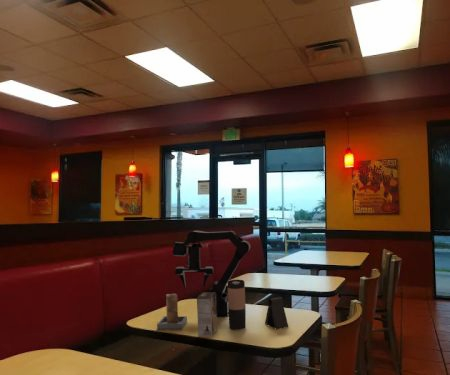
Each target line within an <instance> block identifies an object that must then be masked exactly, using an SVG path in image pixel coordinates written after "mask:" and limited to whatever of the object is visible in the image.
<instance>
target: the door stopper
mask: <svg viewBox="0 0 450 375" xmlns="http://www.w3.org/2000/svg"><path fill="white" fill-rule="evenodd" d="M267 304H268V305H267V311H266V316H265V321H264V324H265V326H268V325H269V327H270V326H271V328H273V329H275V328H276V329H275V330H280V328H281V329H285V328H288V327H289V323H288V320H287V316H286V311H285V307H284V299H283V297H282V296H278V297H273V298H272V297H271V298H268V300H267ZM284 327H285V328H284Z"/></svg>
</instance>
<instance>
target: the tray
mask: <svg viewBox="0 0 450 375" xmlns="http://www.w3.org/2000/svg"><path fill="white" fill-rule="evenodd" d="M187 322H188V316H186V315H185V316H183V315H182V316H181V315H178V323H167V315H164V316H162V318H160V320H159V321H158V322H157V324H156V330H160V331H161V330H162V331H163V330H164V331H165V330H170V331H171V330H173V331H176V330H178V331H179V330H180V331H182V330H183V329H184V328H185V326H186V324H187Z"/></svg>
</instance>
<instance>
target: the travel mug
mask: <svg viewBox="0 0 450 375" xmlns="http://www.w3.org/2000/svg"><path fill="white" fill-rule="evenodd" d="M245 284H246V283H245V280H243V279H229V281H228V283H227V295H228V299H227V301H228V325H229V326H228V327H229V329H230V330H233V331H241V330H244V329H246V324H247V322H246V318H247V317H246V313H247V312H246V306H247V305H246V287H245V286H246V285H245Z"/></svg>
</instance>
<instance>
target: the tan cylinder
mask: <svg viewBox="0 0 450 375" xmlns="http://www.w3.org/2000/svg"><path fill="white" fill-rule="evenodd" d="M165 298H166V300H165V302H166V316H167V323H178V316H179V309H178V304H179V303H178V294H177V293H170V294H169V293H167V294H165Z"/></svg>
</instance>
